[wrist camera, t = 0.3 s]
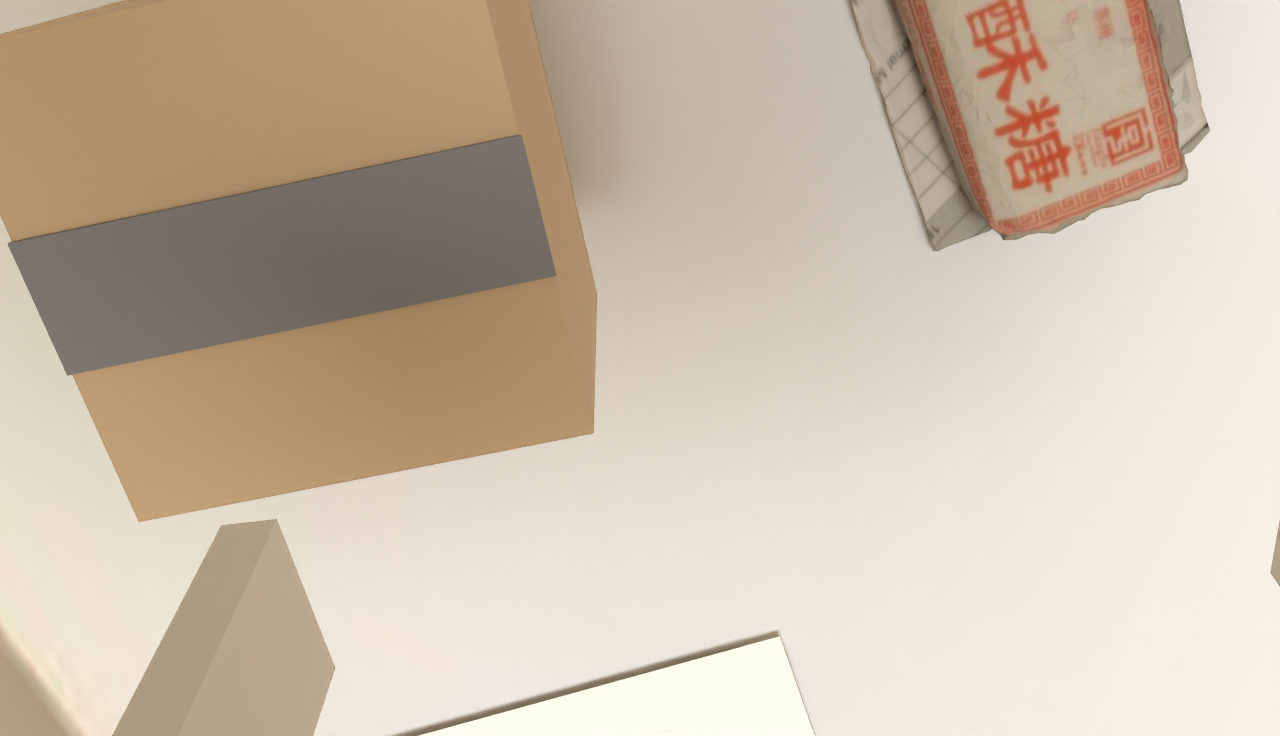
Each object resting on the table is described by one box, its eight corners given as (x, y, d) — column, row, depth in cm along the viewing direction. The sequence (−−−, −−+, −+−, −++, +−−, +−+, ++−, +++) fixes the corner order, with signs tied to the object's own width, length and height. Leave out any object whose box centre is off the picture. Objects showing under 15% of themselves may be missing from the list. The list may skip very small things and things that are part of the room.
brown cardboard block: (114, 2, 30) (-78, 55, 21) (509, -86, 29) (471, -67, 21) (251, 364, 34) (135, 524, 26) (598, 293, 33) (595, 434, 25)
